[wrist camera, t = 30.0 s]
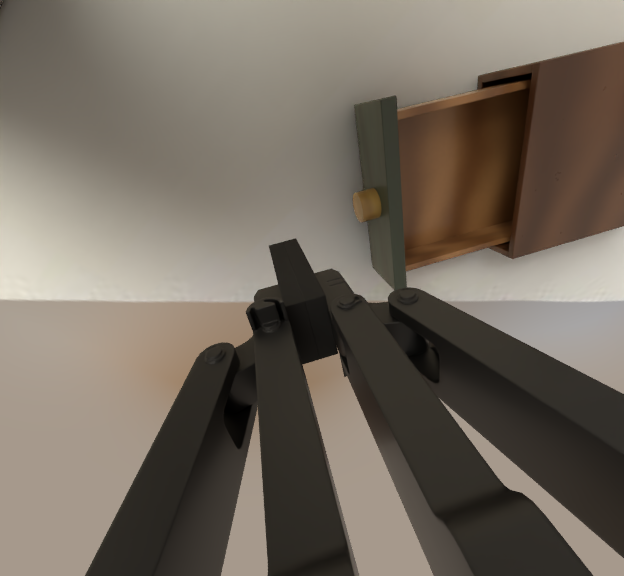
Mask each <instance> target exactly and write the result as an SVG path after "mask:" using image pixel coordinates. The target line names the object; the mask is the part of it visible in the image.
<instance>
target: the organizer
mask: <svg viewBox="0 0 624 576" xmlns="http://www.w3.org/2000/svg"><path fill="white" fill-rule="evenodd" d="M528 77H532V78H531V85H530V93H529V100H528V108H527V115H526V123H525V131H524V138H523V146H522V153H521V161H520V168H519V176H518V184H517V191H516V199H515V206H514V214H513V222H512V229H511V237H510V241H509V242H505V243H502V244H498V245H495V246H491V247H488V248H490V249H492V250H494V251H496V252H498V253H501V254H503V255H505V256H507V257H509V258H511V259H514V258H518V257H521V256H524V255H528V254H531V253H534V252H538V251H541V250H545V249H548V248H551V247H555V246H558V245H561V244H565V243H568V242H572V241H575V240H578V239H582V238H585V237H588V236H592V235H595V234H599V233H602V232H605V231H609V230H612V229H616V228H619V227H622V226H624V42H619V43H615V44H611V45H607V46H602V47H598V48H594V49H590V50H585V51H581V52H577V53H573V54H568V55H564V56H560V57H556V58H552V59H547V60H543V61H539V62H535V63H530V64H526V65H522V66H518V67H513V68H509V69H505V70H501V71H496V72H492V73H488V74H484V75H479V76H478V87H477V90H478V89H483V88H487V87H491V86H495V85H499V84H503V83H508V82H512V81H516V80H520V79H524V78H528Z"/></svg>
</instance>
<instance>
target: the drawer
mask: <svg viewBox="0 0 624 576" xmlns="http://www.w3.org/2000/svg"><path fill="white" fill-rule="evenodd" d="M531 78H532V77H528V78H524V79H520V80H516V81H512V82H508V83H503V84H499V85H495V86H491V87H487V88H483V89H478V90H474V91H470V92H466V93H462V94H458V95H453V96H449V97H445V98H441V99H437V100H433V101H428V102H424V103H420V104H416V105H412V106H408V107H403V108H399V109H397V98H396V96H391V97H387V98H382V99H378V100H374V101H369V102H365V103H361V104H356V105H354V108H355V117H356V126H357V134H358V143H359V152H360V161H361V169H362V178H363V187H364V190H363V191H359V192H356V193H354V195H353V207H354V211H355V214H356V217H357V219H358V220H359V222H365V221H367V222H368V231H369V239H370V248H371V257H372V265H373V268H374V269H375V270H376V272H377V273H378V274H379V275H380V276H381V277H382V278H383V279H384V280H385V281H386V282H387V283H388V284H389V285H390V286H391V287H392V288H393V289H394V290H398V289H401V288H406V287H407V284H406V271H409V270H412V269H416V268H419V267H422V266H426V265H429V264H433V263H436V262H440V261H443V260H447V259H450V258H453V257H457V256H460V255H464V254H467V253H471V252H474V251H478V250H481V249H484V248H488V247H491V246H495V245H498V244H502V243H505V242H509V241H510V237H511V229H512V222H513V214H514V206H515V199H516V191H517V184H518V176H519V168H520V161H521V153H522V146H523V138H524V131H525V123H526V115H527V108H528V100H529V93H530V85H531Z"/></svg>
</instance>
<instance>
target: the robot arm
mask: <svg viewBox="0 0 624 576" xmlns="http://www.w3.org/2000/svg"><path fill="white" fill-rule="evenodd" d="M2 2H3V0H0V8H1V5H2ZM269 248H270V252H271V256H272V260H273V264H274V268H275V272H276V276H277V280H278V285H275V286H271V287H267V288H264V289H260V290H258V291H257V293H256V294H255V296H254V303H252V304H251V305H250V306H249V307H248V308H247V311H246V314H247V316H248V320H249V322H250V325H251V327H252V330H253V336H252V338H250V339H249V340H248V341H247V342H245V343H243V344H242V345H240V346H238V347H236V348H234V346H233V345H232V344H230V343H218V344H214V345H212V346H210V347H208V348H206V349H205V350H204V351H203V352H201V353H200V355H199V356H198V357H197V359H196V361H195V362H194V365H193V366H192V368H191V370H190V372H189V374H188V376H187V378H186V380H185V382H184V384H183V386H182V388H181V390H180V392H179V394H178V396H177V398H176V399H175V401H174V404H173V405H172V407H171V409H170V411H169V413H168V415H167V417H166V419H165V421H164V423H163V425H162V427H161V429H160V431H159V433H158V435H157V436H156V438H155V440H154V442H153V444H152V446H151V448H150V450H149V452H148V454H147V456H146V458H145V460H144V462H143V464H142V466H141V468H140V470H139V472H138V474H137V475H136V477H135V479H134V481H133V484H132V485H131V487H130V489H129V491H128V493H127V495H126V497H125V499H124V501H123V503H122V505H121V507H120V509H119V511H118V513H117V514H116V517H115V518H114V520H113V522H112V524H111V526H110V528H109V530H108V532H107V534H106V536H105V538H104V540H103V542H102V544H101V546H100V548H99V550H98V552H97V553H96V555H95V557H94V559H93V561H92V564H91V565H90V567H89V569H88V571H87V573H86V575H85V576H221V572H222V567H223V563H224V558H225V554H226V549H227V544H228V540H229V535H230V530H231V526H232V521H233V517H234V512H235V508H236V503H237V498H238V494H239V489H240V485H241V480H242V476H243V471H244V467H245V462H246V457H247V452H248V448H249V444H250V439H251V434H252V429H253V425H254V421H255V416H256V411H257V407H258V415H259V432H260V447H261V462H262V478H263V493H264V508H265V525H266V540H267V556H268V576H359V573H358V569H357V566H356V562H355V558H354V555H353V551H352V547H351V543H350V540H349V536H348V532H347V528H346V525H345V521H344V518H343V514H342V510H341V506H340V502H339V499H338V496H337V491H336V488H335V484H334V480H333V476H332V473H331V469H330V465H329V462H328V458H327V454H326V451H325V447H324V443H323V439H322V436H321V432H320V428H319V424H318V421H317V417H316V414H315V410H314V406H313V402H312V399H311V395H310V391H309V387H308V384H307V380H306V376H305V373H304V369H303V366H302V364H305V363H309V362H312V361H315V360H319V359H322V358H325V357H328V356H331V355H335V354H338V351H337V348H338V350H339V353H340V358H341V363H342V368H343V372H344V376H345V377H346V376H348V379H349V381H350V383H351V386H352V388H353V390H354V392H355V395H356V397H357V399H358V401H359V404H360V406H361V409H362V411H363V413H364V415H365V418H366V420H367V422H368V425H369V427H370V429H371V432H372V434H373V436H374V439H375V441H376V443H377V446H378V448H379V450H380V452H381V455H382V457H383V459H384V462H385V464H386V466H387V468H388V471H389V473H390V475H391V478H392V480H393V482H394V484H395V487H396V489H397V492H398V494H399V496H400V499H401V501H402V503H403V505H404V508H405V510H406V512H407V514H408V517H409V519H410V522H411V524H412V526H413V528H414V531H415V533H416V535H417V537H418V540H419V542H420V544H421V547H422V549H423V552H424V554H425V556H426V558H427V561H428V563H429V565H430V568H431V570H432V573H433V575H434V576H593V575H592V573H591V572H590V571H589V570H588V568H587V567H586V566H585V565H584V564H583V562H582V561H581V560H580V558H579V557H578V556H577V555H576V553H575V552H574V551H573V550H572V548H571V547H570V546H569V545H568V543H567V542H566V541H565V540H564V538H563V537H562V536H561V534H560V533H559V532H558V531H557V530H556V528H555V527H554V526H553V524H552V523H551V522H550V521H549V519H548V518H547V517H546V516H545V514H544V513H543V512H542V511H541V510H540V509H539V508H538V507H537V506H536V505H535V503H534V502H533V501H532V500H530V499H529V498H528V497H526V496H525V495H524V494H523V493H520V492H516V491H512V490H509V489H508V488H507V487H506V486H504V485H503V483H502V482H501V481H500V480H499V479H498V478H497V476H496V475H495V474H494V472H493V471H492V469H491V468H490V467H489V465H488V464H487V463H486V461H485V460H484V459H483V457H482V456H481V455H480V453H479V452H478V450H477V449H476V448H475V446H474V445H473V444H472V442H471V441H470V440H469V438H468V437H467V436H466V434H465V433H464V432H463V430H462V429H461V428H460V427H459V425H458V424H457V422H456V421H455V420H454V418H453V417H452V416H451V414H450V413H449V411H448V410H447V409H446V407H445V406H444V405H443V403H442V402H441V401H440V399H441V400H442V401H443V402H444V403H445V404H447V405H448V406H449V407H450V408H451V409H452V410H453V411H455V412H456V413H457V414H458V415H459V416H460V417H461V418H463V419H464V420H465V421H466V422H467V423H468V424H470V425H471V426H472V427H473V428H474V429H475V430H476V431H478V432H479V433H480V434H481V435H482V436H483V437H485V438H486V439H487V440H489V442H490V443H491V444H493V445H494V446H495V447H496V448H497V449H498V450H500V451H501V452H502V453H503V454H504V455H505V456H506V457H508V458H509V459H510V460H511V461H512V462H513V463H515V464H516V465H517V466H518V467H519V468H520V469H521V470H523V471H524V472H525V473H526V474H527V475H528V476H529V477H531V478H532V479H533V480H534V481H535V482H536V483H538V484H539V485H540V486H541V487H542V488H543V489H545V490H546V491H547V492H548V493H549V494H550V495H551V496H553V497H554V498H555V499H556V500H557V501H558V502H560V503H561V504H562V505H563V506H564V507H565V508H566V509H568V510H569V511H570V512H571V513H572V514H573V515H575V516H576V517H577V518H578V519H579V520H580V521H582V522H583V523H584V524H585V525H586V526H587V527H588V528H589V529H591V530H592V531H593V532H594V533H595V534H596V535H598V536H599V537H600V538H601V539H602V540H603V541H605V542H606V543H607V544H608V545H609V546H610V547H611V548H613V549H614V550H615V551H616V552H617V553H618V554H619V555H621V556H622V557H623V558H624V394H622V393H620V392H618V391H616V390H614V389H613V388H610V387H609V386H607V385H605V384H603V383H601V382H599V381H597V380H595V379H593V378H591V377H589V376H587V375H585V374H583V373H581V372H580V371H577V370H576V369H574V368H572V367H570V366H568V365H566V364H564V363H562V362H560V361H558V360H556V359H554V358H552V357H550V356H548V355H547V354H545V353H543V352H541V351H539V350H537V349H535V348H533V347H531V346H529V345H527V344H525V343H523V342H521V341H519V340H517V339H516V338H513V337H512V336H510V335H508V334H506V333H504V332H502V331H500V330H498V329H496V328H494V327H492V326H490V325H488V324H486V323H484V322H483V321H481V320H479V319H477V318H475V317H473V316H471V315H469V314H467V313H465V312H463V311H461V310H459V309H457V308H455V307H453V306H451V305H449V304H448V303H446V302H444V301H442V300H440V299H438V298H436V297H434V296H432V295H430V294H428V293H426V292H424V291H422V290H420V289H417V288H401V289H398V290H395V291H393V292H392V293H390V295H389V297H388V302H382V303H368V302H367V301H366V300H365V299H364V298H363V297H362V296H360V295H357V294H354V293H353V291H352V290H351V288H350V287H349V285H348V284H347V283H346V282H345V280H344V278H343V277H342V276H341V274H340V273H339V272H338V271H336V270H334V269H328V270H325V271H321V272H318V273H314V272H313V270H312V268H311V266H310V264H309V263H308V261H307V259H306V257H305V255H304V253H303V251H302V249H301V247H300V245H299V243H298V242H297V240H296V239H292V240H288V241H284V242H281V243H277V244H273V245H270V246H269ZM439 398H440V399H439Z"/></svg>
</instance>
